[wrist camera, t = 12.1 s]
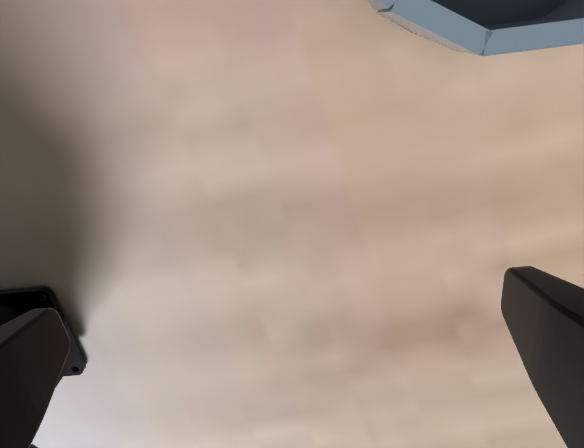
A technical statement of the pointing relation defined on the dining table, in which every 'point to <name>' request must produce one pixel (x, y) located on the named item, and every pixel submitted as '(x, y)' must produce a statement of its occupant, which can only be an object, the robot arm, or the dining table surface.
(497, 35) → the bowl
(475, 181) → the dining table surface
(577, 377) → the robot arm
